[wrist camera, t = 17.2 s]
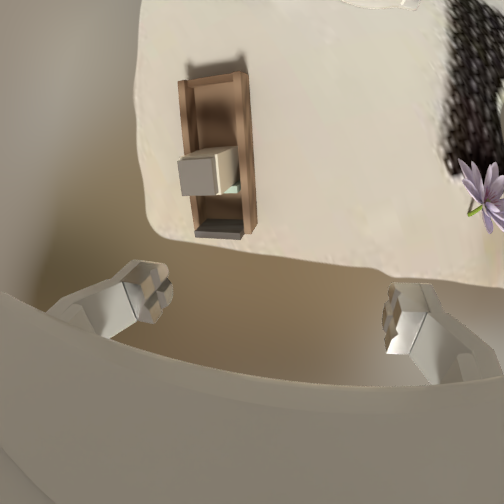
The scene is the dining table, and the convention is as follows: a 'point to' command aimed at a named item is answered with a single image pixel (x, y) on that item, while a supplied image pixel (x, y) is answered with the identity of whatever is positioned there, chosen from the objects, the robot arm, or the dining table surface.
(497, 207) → the water lily
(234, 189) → the plate
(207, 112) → the pusher lane
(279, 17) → the dining table surface
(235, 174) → the cream rectangular box
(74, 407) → the robot arm
